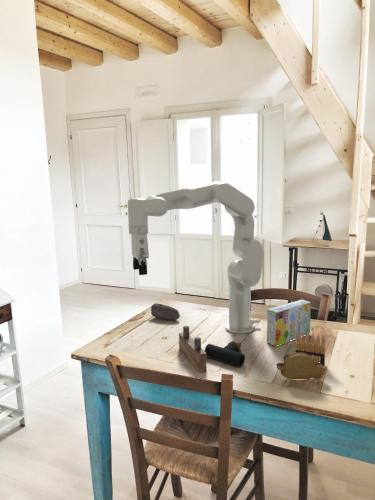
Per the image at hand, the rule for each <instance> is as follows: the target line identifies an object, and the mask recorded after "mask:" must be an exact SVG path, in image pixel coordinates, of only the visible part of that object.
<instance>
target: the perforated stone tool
mask: <svg viewBox="0 0 375 500" xmlns="http://www.w3.org/2000/svg"><path fill="white" fill-rule="evenodd" d="M150 314H151V316H152V317H154V318H157V319H161V320H168V321H169V320H170V321H175V320H179V318H181V317H180V316H181V315H180V312H179V310H178V309H176V308H175V307H172V306H170V305H166V304H162V303H154V304H152V305H151V306H150Z"/></svg>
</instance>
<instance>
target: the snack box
mask: <svg viewBox="0 0 375 500" xmlns="http://www.w3.org/2000/svg"><path fill="white" fill-rule="evenodd" d="M311 306H312V303H311V301H307V300H305V299H299V300H295V301H292V302H288V303H286V304H282V305H278V306H275V307H270V308H268V309H267V310H266V311H267V312H266V318H267V321H266V327H267V328H266V329H267V330H266V333H267V334H266V335H267V336H266V343H267V342H268V343H270V344H269V345H271V344H272V345H271V346H273V345H275V346H277V345H280V344H282V345H284V344H283V343H285V342H288V341H290V340H293V339H296V338H297V333H298V332H299V335H300V337H301V336H302V333H304V335H307V334H308V333H310V334H311V314H312V313H311V311H312V310H311V308H312V307H311ZM268 343H267V344H268ZM288 343H289V342H288ZM285 344H286V343H285ZM275 346H274V347H275ZM280 346H281V345H280ZM277 347H278V346H277Z"/></svg>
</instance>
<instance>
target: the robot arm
mask: <svg viewBox="0 0 375 500" xmlns="http://www.w3.org/2000/svg"><path fill="white" fill-rule="evenodd" d="M216 203H218V204H221V205H222V206H223V207H224V209H225V212H227V214H229V215H230V216H231V217H232V220H233V222H234V233H233V243H232V252H233V254H234V255H235V256H236V257H238V258H239V259H235V260H233V261H232V262H230V263H229V265H228V267H227V270H226V271H227V281H228V290H229V291H228V293H229V294H228V322H227V323H226V324H225V330H226V331H227V332H230V333H232V334H239V335H241V334H249V333H252V332H253V331H254V327H255V326H254V325H255V324H260V322H261V320H260V318H255V317H251V301H252V300H251V297H252V296H251V295H252V293H251V292H252V291H251V288H253V287H255V286H256V285H258V284H259V282H260V280H261V278H262V272H263V263H264V256H265V255H264V253H265V252H264V247H263V244H262V243H261V242H260V241H259V240H258V239H255V220H254V219H255V218H254V217H253V216H254V215H253V214H254V211H255V203H254V200H253V199H252V198H251V197H249V196H248V195H247V194H245V193H243V192H242V191H240V189H239V190H238V189H237V188H236V187H234V186H232V185H231V184H229V183H228V182H225V181H213V182H209V183H208V182H207V183H204V184H199V185H195V186H190V187H186V188H185V187H184V188H180V189H176V190H172V191H166V192H162V193H158V194H154V195H153V194H152V195H150V196H147V198H145V197H133V198H132V197H131V198H129V199H128V201H127V217H128V218H127V219H128V234H129V235H131V237H130V238H131V239H130V240H131V241H130V242H131V243H130V244H131V255H132V268H133V271H134V270H135V271H137V270H138V275H139V276H144V275H147V274H148V260H147V259H149V257H150V253H149V241H148V235H147V234H149V223H148V221H149V218H148V217H162V216H165V215H166V214H167V212H168V211H172V210H189V209H190V210H191V209H195V208H196V209H197V208H199V207H203V206H207V205H212V204H216Z"/></svg>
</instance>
